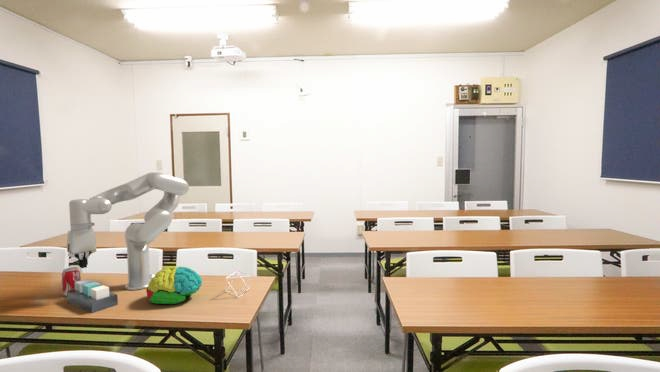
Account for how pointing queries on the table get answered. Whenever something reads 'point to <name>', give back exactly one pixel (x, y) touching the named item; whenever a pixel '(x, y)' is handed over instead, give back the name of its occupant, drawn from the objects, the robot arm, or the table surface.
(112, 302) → the console
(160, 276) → the brain model
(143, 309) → the table surface
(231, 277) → the geometric polyhedron
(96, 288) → the ivory key
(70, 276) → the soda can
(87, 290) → the teal key
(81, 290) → the grey key
